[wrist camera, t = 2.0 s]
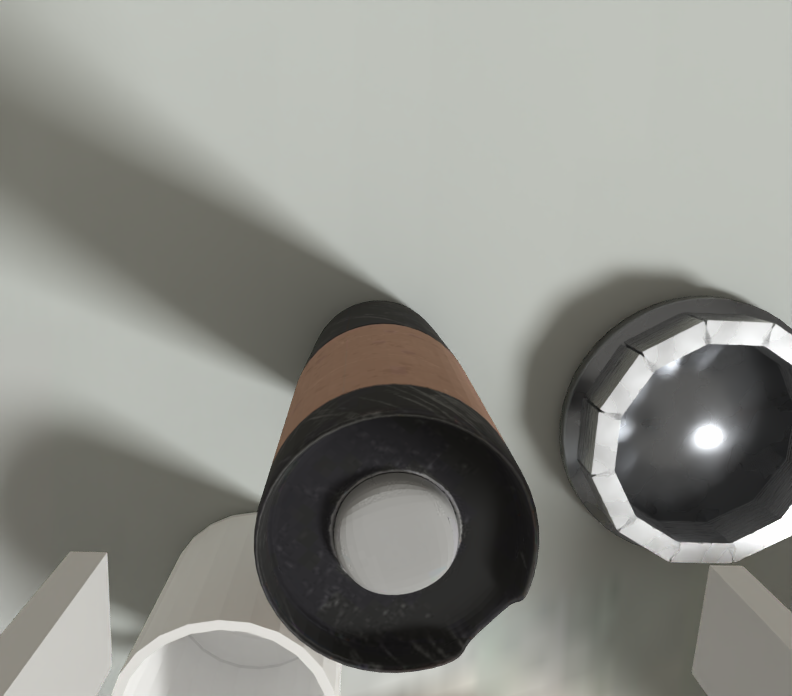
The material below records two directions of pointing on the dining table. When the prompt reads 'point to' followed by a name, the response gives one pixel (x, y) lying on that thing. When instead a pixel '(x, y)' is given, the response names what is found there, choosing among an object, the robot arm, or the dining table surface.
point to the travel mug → (391, 501)
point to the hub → (686, 430)
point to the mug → (221, 629)
